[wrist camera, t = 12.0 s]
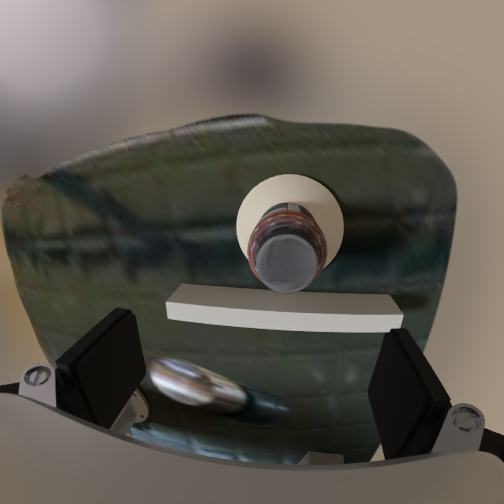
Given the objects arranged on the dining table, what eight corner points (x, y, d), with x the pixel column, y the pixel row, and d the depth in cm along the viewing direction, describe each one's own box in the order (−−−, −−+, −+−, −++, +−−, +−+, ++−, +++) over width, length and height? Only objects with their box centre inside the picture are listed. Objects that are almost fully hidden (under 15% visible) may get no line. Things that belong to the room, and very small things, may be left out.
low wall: (385, 310, 30) (399, 331, 25) (183, 298, 33) (167, 318, 28) (389, 294, 29) (403, 314, 25) (182, 283, 32) (165, 301, 27)
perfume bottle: (343, 454, 38) (349, 537, 21) (326, 470, 40) (327, 546, 23) (309, 450, 39) (307, 538, 21) (294, 467, 41) (289, 545, 23)
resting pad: (337, 280, 30) (338, 282, 29) (237, 275, 31) (236, 276, 31) (346, 177, 27) (347, 177, 26) (237, 172, 28) (237, 172, 27)
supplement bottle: (323, 249, 29) (342, 296, 18) (268, 265, 30) (256, 317, 19) (307, 193, 27) (320, 207, 16) (250, 210, 28) (227, 235, 18)
